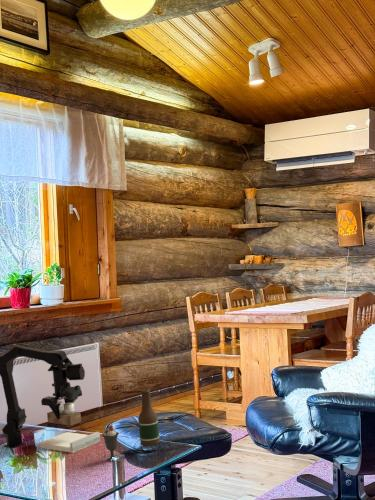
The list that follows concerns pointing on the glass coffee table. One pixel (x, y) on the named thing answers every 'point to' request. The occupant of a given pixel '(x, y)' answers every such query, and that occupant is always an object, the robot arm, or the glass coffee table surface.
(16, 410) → the robot arm
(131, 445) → the glass coffee table surface
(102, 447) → the glass coffee table surface
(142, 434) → the beer bottle
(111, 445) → the sundae
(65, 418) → the glass caddy
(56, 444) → the cream flat block
